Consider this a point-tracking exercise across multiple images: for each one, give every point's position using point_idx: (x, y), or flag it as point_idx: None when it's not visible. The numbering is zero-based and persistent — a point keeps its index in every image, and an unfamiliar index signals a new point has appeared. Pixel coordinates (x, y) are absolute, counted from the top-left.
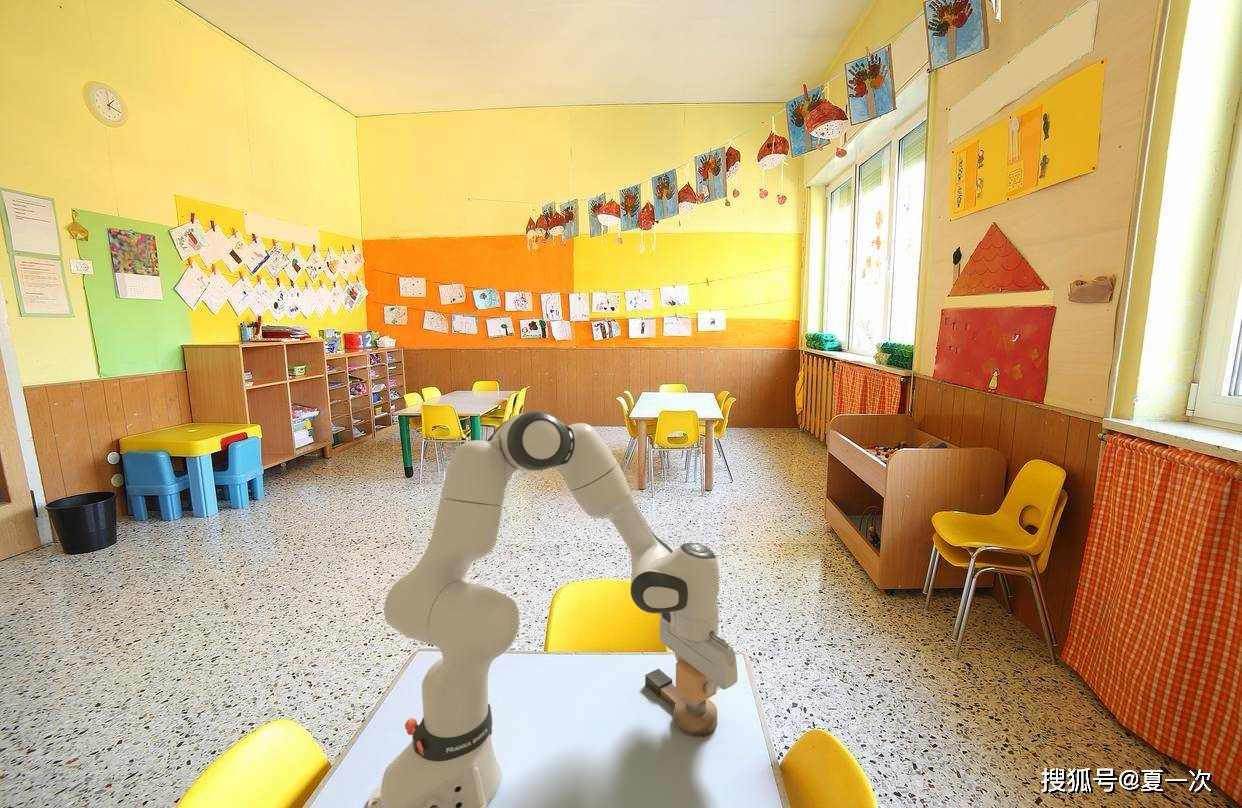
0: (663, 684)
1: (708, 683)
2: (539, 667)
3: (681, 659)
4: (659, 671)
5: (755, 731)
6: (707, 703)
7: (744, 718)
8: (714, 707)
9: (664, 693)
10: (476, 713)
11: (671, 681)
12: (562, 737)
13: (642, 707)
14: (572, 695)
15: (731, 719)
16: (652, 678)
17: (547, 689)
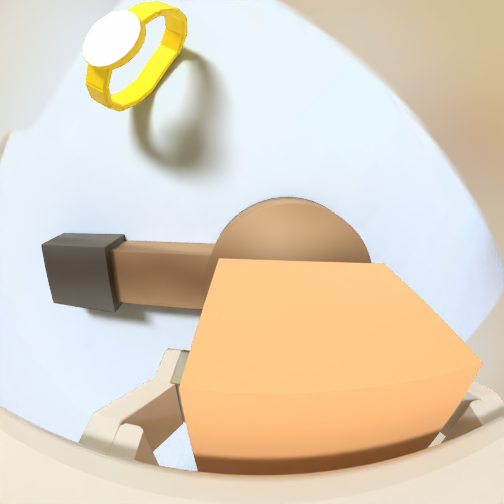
0: (111, 291)
1: (445, 431)
2: (3, 384)
3: (150, 432)
4: (53, 252)
5: (436, 157)
6: (299, 228)
7: (388, 132)
8: (335, 223)
9: (142, 302)
10: None
11: (107, 249)
12: (157, 461)
13: (146, 351)
14: (67, 405)
15: (364, 169)
16: (73, 298)
17: (48, 413)
